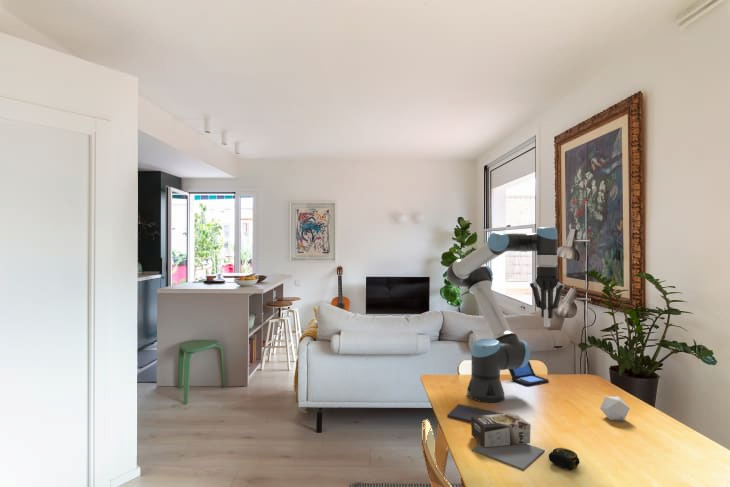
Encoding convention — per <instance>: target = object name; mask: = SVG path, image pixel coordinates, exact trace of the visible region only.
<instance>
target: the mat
mask: <svg viewBox="0 0 730 487" xmlns="http://www.w3.org/2000/svg"><path fill="white" fill-rule="evenodd" d="M471 451H472V452H475V453H477V454H479V455H482V456H485V457H487V458H490V459H492V460H495V461H497V462H500V463H503V464H504V465H508V466H511V467H513V468H516V469H518V470H520V471H523V472H524V471H525V470H526V469H527V468H529V466H530V465H532V463H533V462H535V461H536V460H537V459H538V458H539V457H540V456H541V455H543V453H545V449H543V448H540V447H536V446H534V445H531V444H530V443H527V444H516V445H505V446H494V447H484V446H483V445H481V444H480V443H479V444H477V445H475V446H474V447H473V448H471Z"/></svg>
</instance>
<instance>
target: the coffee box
mask: <svg viewBox="0 0 730 487" xmlns="http://www.w3.org/2000/svg"><path fill="white" fill-rule="evenodd" d="M470 425H471V426H470V427H471V434H470V435H471V436H472V437H473V438H474V439H475V440H476V441H477V442H478V443H479V444H481V445H483V446H484V447H494V446H505V445H516V444H531V428H532V426H531V423H529V422H528V421H526V420H525V419H523V417H520V416H519V415H518V414H516V413H515V412H511V413H504V414H496V415H483V416H471V423H470Z"/></svg>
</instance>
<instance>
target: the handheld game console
mask: <svg viewBox="0 0 730 487" xmlns="http://www.w3.org/2000/svg"><path fill="white" fill-rule="evenodd" d="M508 371H509V373H510V375H511V381H512V380H513V381H512V382H514V381H516V382H515V383H517V382H518V383H517V384H520V383H521V384H520V385H522V384H523V385H522V386H525V385H527V386H526V387H531V386H530V385H532V386H536V384H537V385H541V383H542V384H547V383H549V382H550V380H549V379H548V378H546V377H542V376H540V375H537V374H536V373H535V372H534V369H533V367H532V364H531V362H530V361H529V362H528V364H527V365H526V366H524V367H521V368H518V369H508ZM546 382H547V383H546Z"/></svg>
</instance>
